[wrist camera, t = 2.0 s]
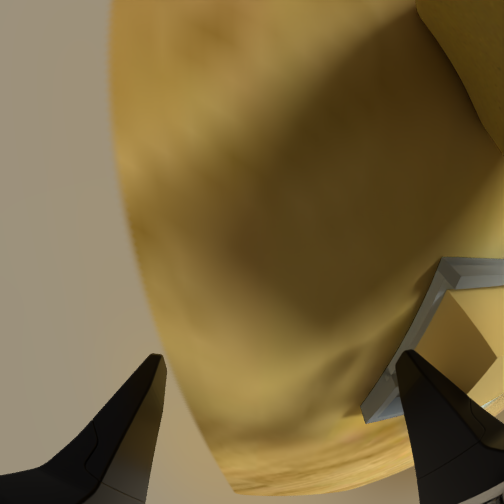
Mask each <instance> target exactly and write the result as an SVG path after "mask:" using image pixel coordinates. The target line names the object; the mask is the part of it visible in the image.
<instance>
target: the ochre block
mask: <svg viewBox="0 0 504 504" xmlns="http://www.w3.org/2000/svg"><path fill="white" fill-rule="evenodd" d="M414 350H415V351H416V352H417V353H418V354H420V355H421V356H422V357H423V358H424V359H426V360H427V361H428V362H429V363H430V364H432V365H433V366H434V367H435V368H436V369H437V370H439V371H440V372H441V373H442V374H443V375H445V376H446V377H447V378H448V379H449V380H450V381H452V382H453V383H454V384H455V385H456V386H457V387H459V388H460V389H461V390H462V391H463V392H464V393H465V394H467V395H468V396H469V397H470V398H471V399H472V400H473V401H475V402H476V403H477V404H478V405H479V406H482V405H484V404H486V403H487V402H489V401H491V400H493V399H494V398H496V397H498V396H499V395H501V394H503V393H504V285H501V286H491V287H480V288H468V289H447V290H446V292H445V294H444V297H443V299H442V301H441V303H440V305H439V307H438V309H437V311H436V313H435V314H434V316H433V318H432V320H431V322H430V324H429V326H428V327H427V329H426V331H425V333H424V334H423V336H422V338H421V339H420V341H419V343H418V344H417V346H416V348H415V349H414Z"/></svg>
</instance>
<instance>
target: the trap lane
mask: <svg viewBox="0 0 504 504" xmlns="http://www.w3.org/2000/svg"><path fill="white" fill-rule="evenodd" d="M501 285H504V259H488V258H461V257H442V258H441V261H440V263H439V266H438V268H437V271H436V273H435V276H434V278H433V281H432V283H431V285H430V288H429V290H428V292H427V294H426V296H425V299H424V301H423V303H422V305H421V307H420V309H419V311H418V313H417V315H416V317H415V319H414V321H413V323H412V325H411V327H410V329H409V331H408V332H407V334H406V336H405V338H404V340H403V341H402V343H401V345H400V347H399V348H398V350H397V352H396V354H395V355H394V357H393V359H392V360H391V362H390V363H389V365H388V367H387V368H386V370H385V371H384V373H383V375H382V376H381V378H380V379H379V381H378V382H377V384H376V385H375V387H374V388H373V389H372V391H371V392H370V394H369V395H368V397H367V398H366V399H365V401H364V402H363V403H362V405H361V406H360V407H361V410H362V414H363V417H364V421H365V424H367V423H372V422H376V421H381V420H385V419H389V418H393V417H397V416H400V415H404V412H403V408H402V404H401V400H400V394H399V388H398V381H397V376H396V370H395V364H396V362H397V360H398V359H399V357H400V356H401V354H402V352H403V351H404V350H409V349H413V350H414V349H415V348H416V346H417V344H418V343H419V341H420V339H421V338H422V336H423V334H424V333H425V331H426V329H427V327H428V326H429V324H430V322H431V320H432V318H433V316H434V314H435V313H436V311H437V309H438V307H439V305H440V303H441V301H442V299H443V297H444V294H445V292H446V290H447V289H468V288H480V287H491V286H501Z"/></svg>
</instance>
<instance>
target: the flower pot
mask: <svg viewBox="0 0 504 504" xmlns="http://www.w3.org/2000/svg"><path fill="white" fill-rule="evenodd" d="M415 1H416V9H417V12H418V14H419V16H420V18H421V19H422V20H423V22H424V23H425V25H426V26H427V27H428V29H429V30H430V31H431V33H432V34H433V36H434V37H435V38H436V40H437V41H438V43H439V44H440V46H441V47H442V49H443V50H444V52H445V54H446V55H447V57H448V58H449V60H450V61H451V63H452V65H453V66H454V68H455V70H456V72H457V73H458V75H459V77H460V79H461V81H462V82H463V84H464V86H465V88H466V91H467V93H468V95H469V97H470V99H471V101H472V103H473V105H474V108H475V110H476V112H477V114H478V117H479V119H480V121H481V123H482V125H483V126H484V128H485V129H486V131H487V132H488V133H489V135H490V136H491V138H492V139H493V141H494V142H495V144H496V145H497V147H498V148H499V150H500V151H501V153H502V154H503V156H504V0H415Z"/></svg>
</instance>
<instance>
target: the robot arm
mask: <svg viewBox="0 0 504 504" xmlns="http://www.w3.org/2000/svg"><path fill="white" fill-rule="evenodd" d="M395 370H396V376H397V381H398V388H399V394H400V400H401V404H402V408H403V412H404V416H405V420H406V425H407V429H408V434H409V438H410V443H411V448H412V453H413V459H414V464H415V470H416V477H417V484H418V492H419V500H420V504H504V424H503V423H502V422H500V421H499V420H498V419H496V418H495V417H494V416H492V415H491V414H490V413H488V412H487V411H486V410H484V409H483V408H482V407H481V406H479V405H478V404H477V403H476V402H475V401H473V400H472V399H471V398H470V397H469V396H468V395H467V394H465V393H464V392H463V391H462V390H461V389H460V388H459V387H457V386H456V385H455V384H454V383H453V382H452V381H450V380H449V379H448V378H447V377H446V376H445V375H443V374H442V373H441V372H440V371H439V370H437V369H436V368H435V367H434V366H433V365H432V364H430V363H429V362H428V361H427V360H426V359H424V358H423V357H422V356H421V355H420V354H418V353H417V352H416V351H415V350H413V349H409V350H404V351H403V352H402V354H401V356H400V357H399V359H398V360H397V362H396V364H395ZM166 375H167V368H166V364H165V361H164V357H163V355H161V354H154V353H152V354H150V355H149V356H148V357H147V358H146V359H145V361H144V362H143V363H142V364H141V365H140V366H139V367H138V369H137V370H136V371H135V372H134V373H133V374H132V375H131V376H130V378H129V379H128V380H127V381H126V382H125V383H124V384H123V385H122V386H121V388H120V389H119V390H118V391H117V392H116V393H115V394H114V396H113V397H112V398H111V399H110V400H109V401H108V402H107V403H106V404H105V406H104V407H103V408H102V409H101V410H100V411H99V412H98V414H97V415H96V416H95V417H94V418H93V420H92V421H90V422H89V424H88V425H87V426H86V427H85V428H84V429H83V430H82V431H81V432H80V433H79V434H78V436H77V437H76V438H74V439H73V440H72V441H71V442H70V443H69V444H68V445H67V446H66V447H64V448H63V449H62V450H61V451H60V452H59V453H57V454H56V455H55V456H54V457H53V458H52V459H51V460H49V461H48V462H47V463H45V464H44V465H42V466H40V467H37V468H34V469H30V470H26V471H21V472H16V473H12V474H6V475H0V504H145V501H146V496H147V489H148V483H149V478H150V472H151V467H152V462H153V456H154V451H155V446H156V441H157V436H158V431H159V427H160V422H161V418H162V412H163V405H164V395H165V385H166Z"/></svg>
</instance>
